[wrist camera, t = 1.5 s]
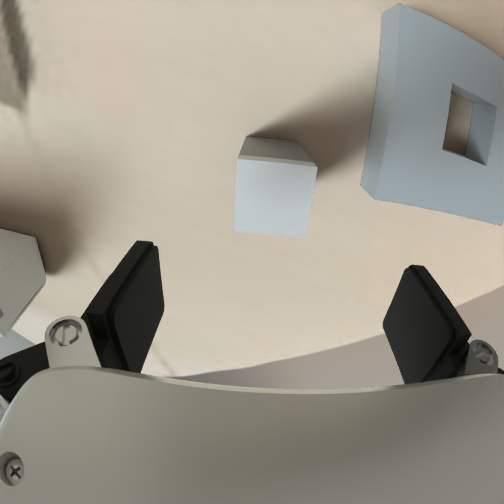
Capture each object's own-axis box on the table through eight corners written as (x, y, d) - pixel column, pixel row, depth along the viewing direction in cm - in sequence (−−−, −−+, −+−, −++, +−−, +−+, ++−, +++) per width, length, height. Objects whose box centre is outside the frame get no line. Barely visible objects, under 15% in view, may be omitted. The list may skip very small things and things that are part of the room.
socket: (381, 13, 17) (403, 1, 13) (508, 76, 17) (534, 80, 13) (360, 184, 26) (377, 202, 22) (482, 211, 26) (505, 229, 22)
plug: (246, 136, 24) (237, 158, 16) (297, 141, 24) (317, 167, 16) (242, 184, 27) (232, 231, 18) (291, 188, 27) (305, 237, 18)
